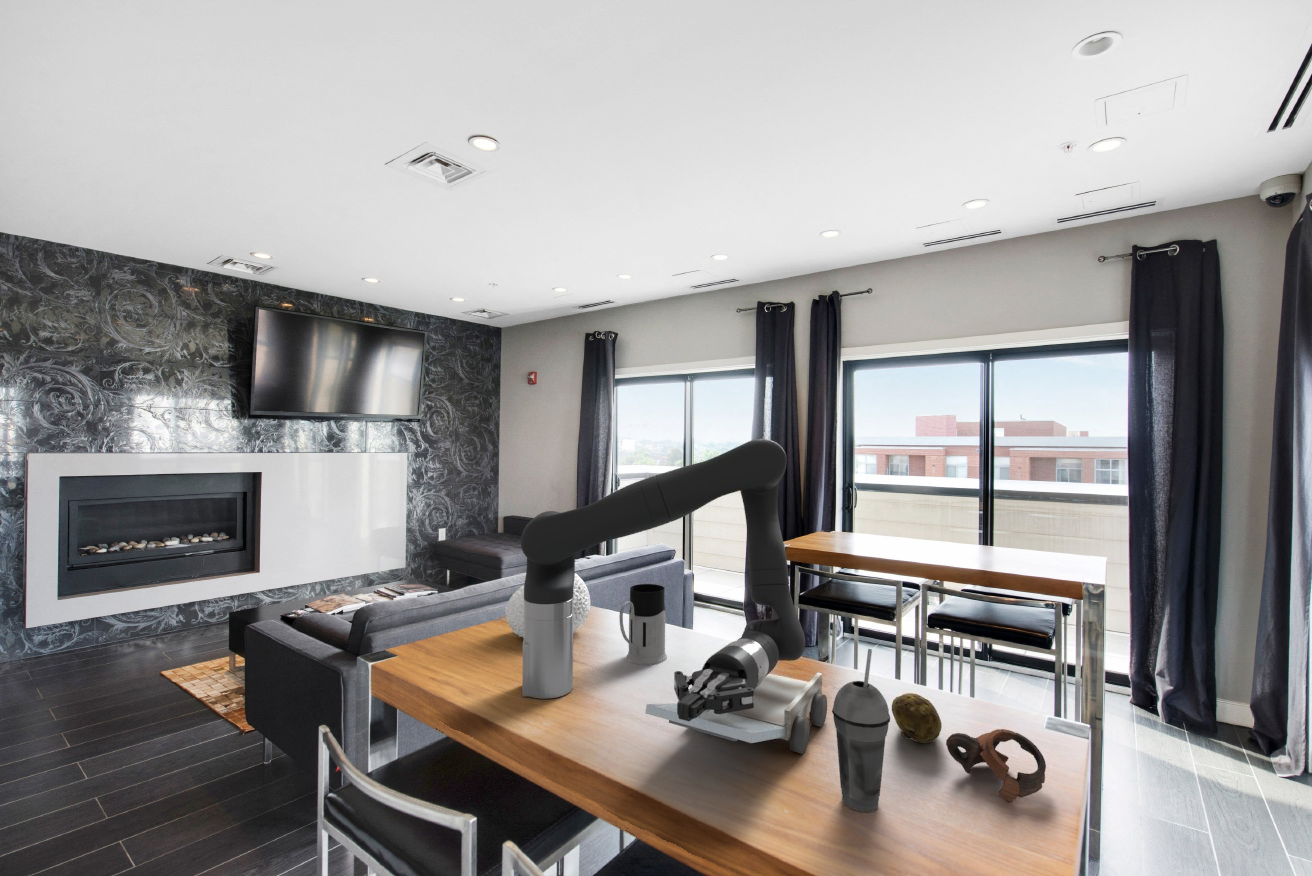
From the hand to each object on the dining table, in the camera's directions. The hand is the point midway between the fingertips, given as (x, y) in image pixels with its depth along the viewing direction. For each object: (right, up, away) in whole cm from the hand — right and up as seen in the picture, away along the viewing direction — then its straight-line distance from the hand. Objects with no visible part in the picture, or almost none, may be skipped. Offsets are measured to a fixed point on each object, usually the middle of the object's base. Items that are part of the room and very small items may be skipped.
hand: (683, 712), depth 79 cm
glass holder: (-7, -12, +51) cm, 53 cm away
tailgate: (+9, -7, +15) cm, 19 cm away
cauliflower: (-29, -12, +67) cm, 74 cm away
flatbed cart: (+14, -12, +23) cm, 29 cm away
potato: (+38, -13, +18) cm, 44 cm away
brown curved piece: (+43, -13, +6) cm, 46 cm away
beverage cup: (+23, -12, +1) cm, 26 cm away
